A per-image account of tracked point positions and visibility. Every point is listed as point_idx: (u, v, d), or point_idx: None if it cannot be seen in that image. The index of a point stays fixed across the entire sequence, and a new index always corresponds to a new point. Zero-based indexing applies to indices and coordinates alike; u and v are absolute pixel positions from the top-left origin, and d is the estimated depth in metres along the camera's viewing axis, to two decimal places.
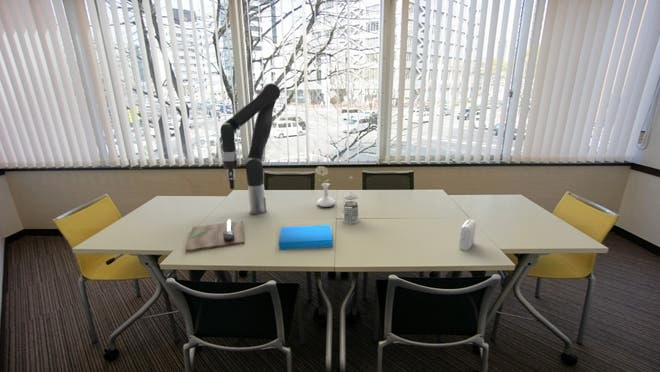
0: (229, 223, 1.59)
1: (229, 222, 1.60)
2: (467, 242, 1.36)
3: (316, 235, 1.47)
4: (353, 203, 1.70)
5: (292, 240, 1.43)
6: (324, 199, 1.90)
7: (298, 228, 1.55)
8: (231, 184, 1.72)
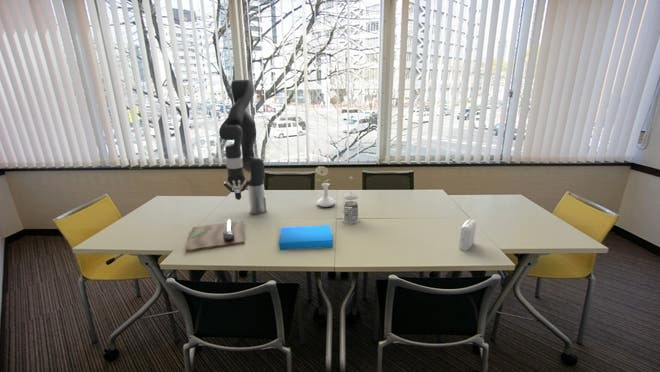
0: (229, 223, 1.59)
1: (229, 222, 1.60)
2: (467, 242, 1.36)
3: (316, 235, 1.47)
4: (353, 203, 1.70)
5: (292, 240, 1.42)
6: (324, 199, 1.90)
7: (298, 228, 1.54)
8: (240, 193, 1.56)
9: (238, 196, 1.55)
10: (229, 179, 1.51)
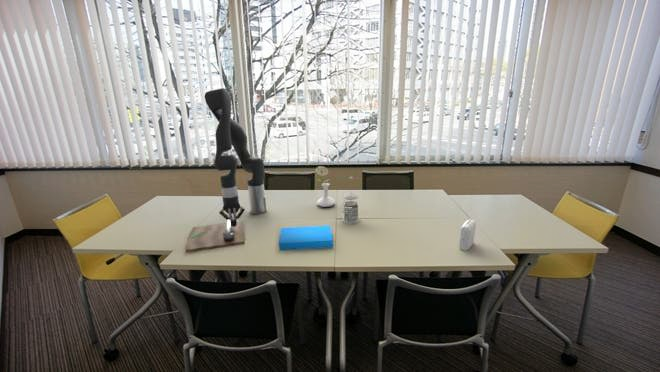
0: (229, 223, 1.59)
1: (229, 222, 1.60)
2: (467, 242, 1.36)
3: (316, 236, 1.47)
4: (353, 203, 1.70)
5: (292, 241, 1.42)
6: (324, 199, 1.90)
7: (298, 229, 1.54)
8: (235, 220, 1.59)
9: (233, 223, 1.58)
10: (224, 207, 1.55)
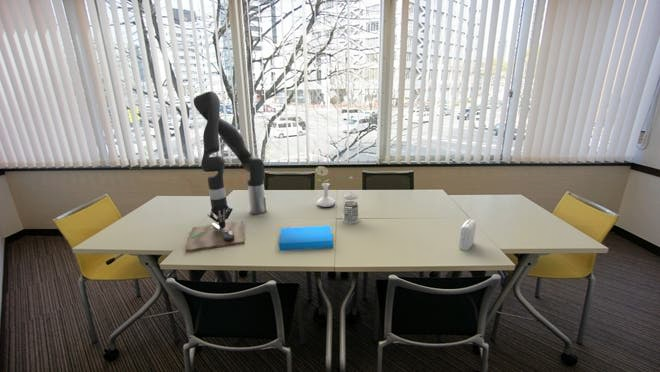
0: (217, 226, 1.56)
1: (216, 225, 1.57)
2: (467, 242, 1.36)
3: (316, 236, 1.46)
4: (353, 203, 1.70)
5: (292, 241, 1.42)
6: (324, 199, 1.90)
7: (298, 229, 1.54)
8: None
9: (223, 225, 1.57)
10: (214, 210, 1.52)
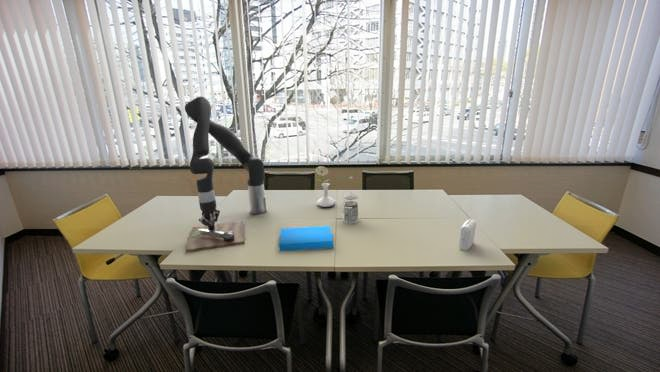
0: (207, 230, 1.52)
1: (205, 230, 1.52)
2: (467, 242, 1.36)
3: (316, 236, 1.46)
4: (353, 203, 1.70)
5: (292, 242, 1.41)
6: (324, 199, 1.90)
7: (298, 229, 1.53)
8: None
9: (213, 228, 1.54)
10: (206, 213, 1.48)
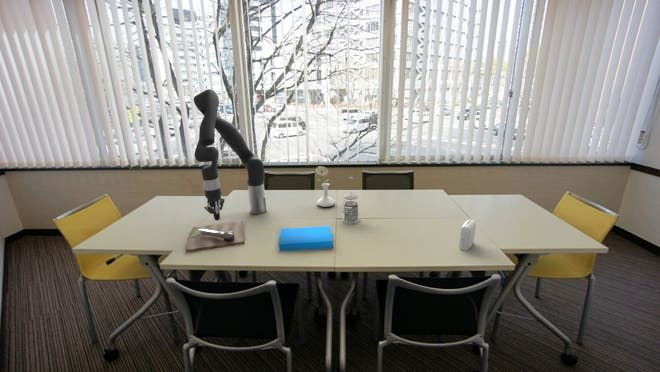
0: (207, 230, 1.52)
1: (205, 230, 1.52)
2: (467, 242, 1.36)
3: (316, 236, 1.46)
4: (353, 203, 1.70)
5: (292, 242, 1.41)
6: (324, 199, 1.90)
7: (298, 229, 1.53)
8: None
9: (218, 216, 1.55)
10: (211, 201, 1.49)
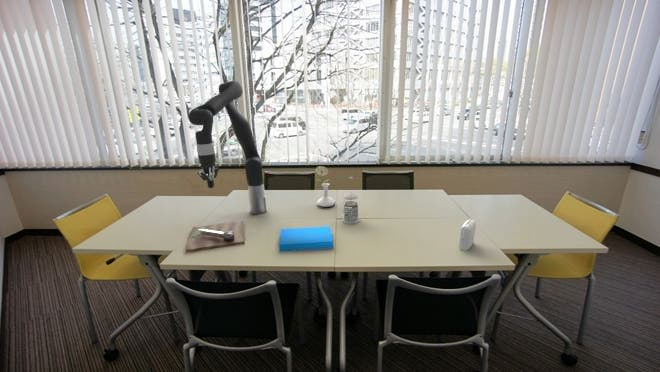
0: (207, 230, 1.52)
1: (205, 230, 1.52)
2: (467, 242, 1.36)
3: (316, 237, 1.46)
4: (353, 203, 1.70)
5: (292, 242, 1.41)
6: (324, 199, 1.90)
7: (298, 230, 1.53)
8: None
9: (212, 184, 1.50)
10: (205, 167, 1.44)
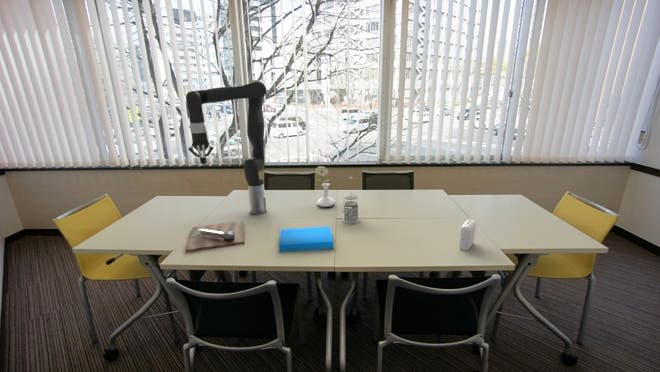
0: (207, 230, 1.52)
1: (205, 230, 1.52)
2: (467, 242, 1.36)
3: (316, 237, 1.45)
4: (353, 203, 1.70)
5: (292, 242, 1.41)
6: (324, 199, 1.90)
7: (298, 230, 1.53)
8: (205, 158, 1.63)
9: (203, 161, 1.62)
10: (193, 144, 1.59)
